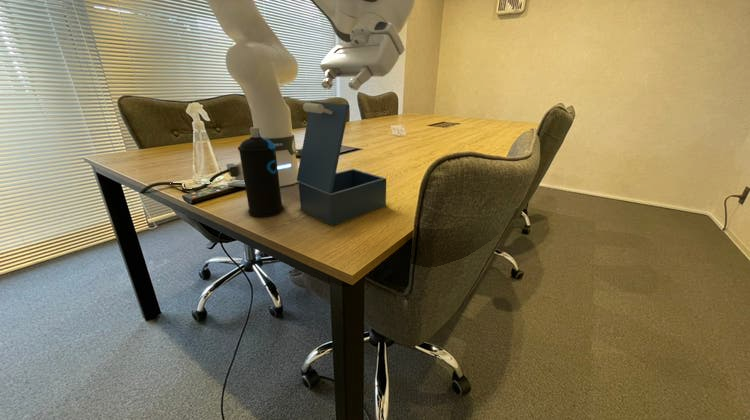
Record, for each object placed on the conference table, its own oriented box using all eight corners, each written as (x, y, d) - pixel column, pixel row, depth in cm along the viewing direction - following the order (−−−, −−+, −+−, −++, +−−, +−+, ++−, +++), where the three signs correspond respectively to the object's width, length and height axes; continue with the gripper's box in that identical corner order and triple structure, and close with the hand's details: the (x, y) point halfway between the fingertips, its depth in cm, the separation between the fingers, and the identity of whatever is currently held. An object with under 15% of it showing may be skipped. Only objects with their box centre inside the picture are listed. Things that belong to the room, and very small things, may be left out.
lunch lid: (313, 102, 69) (294, 95, 66) (349, 105, 61) (330, 98, 58) (299, 180, 73) (280, 178, 69) (331, 193, 64) (312, 191, 61)
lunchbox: (353, 193, 87) (353, 168, 84) (385, 205, 79) (386, 178, 76) (300, 210, 75) (298, 182, 72) (332, 226, 67) (330, 195, 64)
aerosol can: (246, 219, 70) (231, 131, 62) (249, 206, 77) (236, 125, 70) (283, 215, 72) (273, 129, 65) (283, 203, 80) (274, 124, 72)
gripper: (333, 32, 73) (301, 76, 70) (397, 22, 59) (361, 75, 57) (348, 54, 77) (319, 96, 75) (410, 49, 64) (378, 100, 61)
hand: (338, 87), depth 66 cm, fingers open, 8 cm apart
